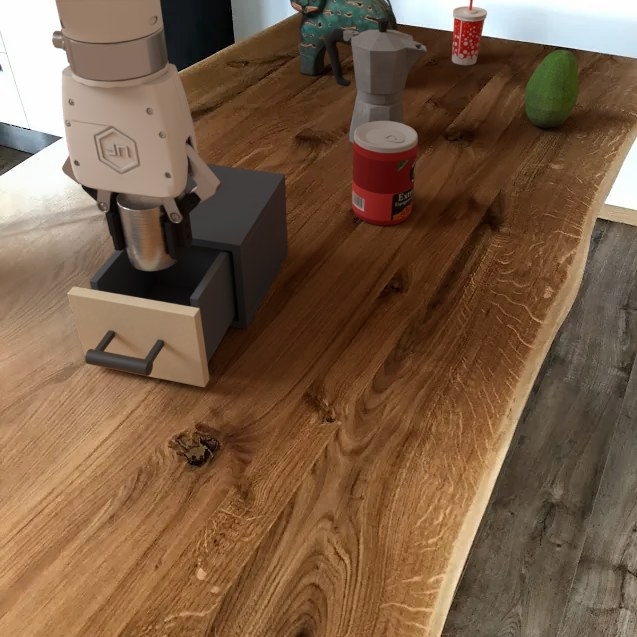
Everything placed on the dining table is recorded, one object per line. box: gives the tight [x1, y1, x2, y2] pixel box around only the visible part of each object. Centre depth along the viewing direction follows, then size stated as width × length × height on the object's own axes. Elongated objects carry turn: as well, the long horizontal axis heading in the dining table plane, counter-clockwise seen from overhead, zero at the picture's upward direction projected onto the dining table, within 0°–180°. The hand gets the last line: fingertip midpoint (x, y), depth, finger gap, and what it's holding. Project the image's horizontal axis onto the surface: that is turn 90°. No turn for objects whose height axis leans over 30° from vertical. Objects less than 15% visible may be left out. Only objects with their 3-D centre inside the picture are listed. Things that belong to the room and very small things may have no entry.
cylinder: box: [117, 193, 179, 271], centre depth 67 cm, size 5×5×6 cm
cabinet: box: [186, 163, 289, 330], centre depth 81 cm, size 15×14×11 cm
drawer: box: [66, 245, 238, 388], centre depth 72 cm, size 18×13×9 cm
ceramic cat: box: [289, 0, 399, 77], centre depth 125 cm, size 20×6×20 cm, turn 61°
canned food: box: [351, 121, 419, 226], centre depth 93 cm, size 8×8×11 cm
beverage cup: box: [451, 0, 488, 66], centre depth 133 cm, size 6×6×14 cm
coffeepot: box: [325, 18, 428, 145], centre depth 108 cm, size 15×9×18 cm, turn 65°
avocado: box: [523, 49, 580, 129], centre depth 112 cm, size 8×8×12 cm
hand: (152, 245), depth 68 cm, fingers closed on cylinder, 4 cm apart
